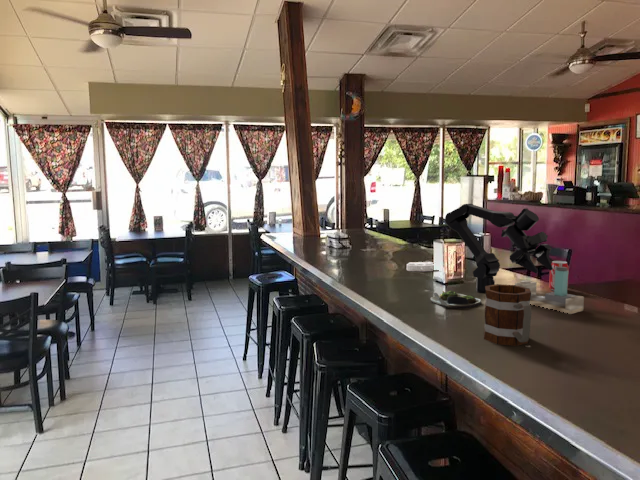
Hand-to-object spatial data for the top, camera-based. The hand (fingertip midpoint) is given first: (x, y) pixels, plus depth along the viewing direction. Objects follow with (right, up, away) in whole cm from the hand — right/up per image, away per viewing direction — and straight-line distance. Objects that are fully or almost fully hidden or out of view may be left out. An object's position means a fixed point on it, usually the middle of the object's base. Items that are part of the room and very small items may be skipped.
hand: (544, 271), depth 183 cm
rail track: (+1, -13, 0) cm, 13 cm away
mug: (-27, -18, -38) cm, 50 cm away
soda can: (+16, -10, +23) cm, 30 cm away
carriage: (+4, -10, -4) cm, 12 cm away
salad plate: (-31, -13, +6) cm, 34 cm away
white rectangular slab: (-30, -4, +72) cm, 78 cm away
